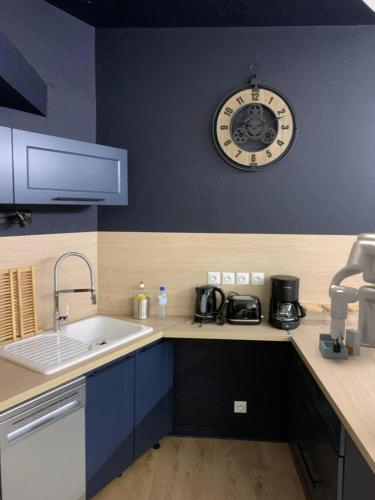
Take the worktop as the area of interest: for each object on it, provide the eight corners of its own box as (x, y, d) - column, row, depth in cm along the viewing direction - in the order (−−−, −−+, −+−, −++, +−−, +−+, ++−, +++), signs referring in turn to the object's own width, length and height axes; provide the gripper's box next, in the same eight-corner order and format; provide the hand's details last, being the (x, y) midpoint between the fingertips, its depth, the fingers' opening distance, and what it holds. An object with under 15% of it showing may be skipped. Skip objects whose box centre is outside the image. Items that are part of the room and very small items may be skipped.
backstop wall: (318, 348, 203) (319, 333, 202) (341, 349, 201) (341, 334, 200) (319, 349, 201) (320, 334, 200) (342, 350, 199) (342, 335, 198)
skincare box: (344, 352, 197) (345, 329, 196) (351, 351, 199) (352, 328, 198) (353, 356, 192) (354, 332, 191) (360, 355, 193) (361, 331, 192)
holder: (319, 348, 201) (320, 340, 200) (342, 350, 199) (342, 341, 198) (324, 357, 189) (324, 348, 188) (347, 359, 187) (348, 349, 187)
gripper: (327, 310, 192) (325, 346, 194) (333, 318, 178) (331, 357, 179) (343, 311, 191) (341, 347, 193) (351, 319, 177) (348, 358, 178)
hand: (336, 352), depth 186 cm, fingers closed
